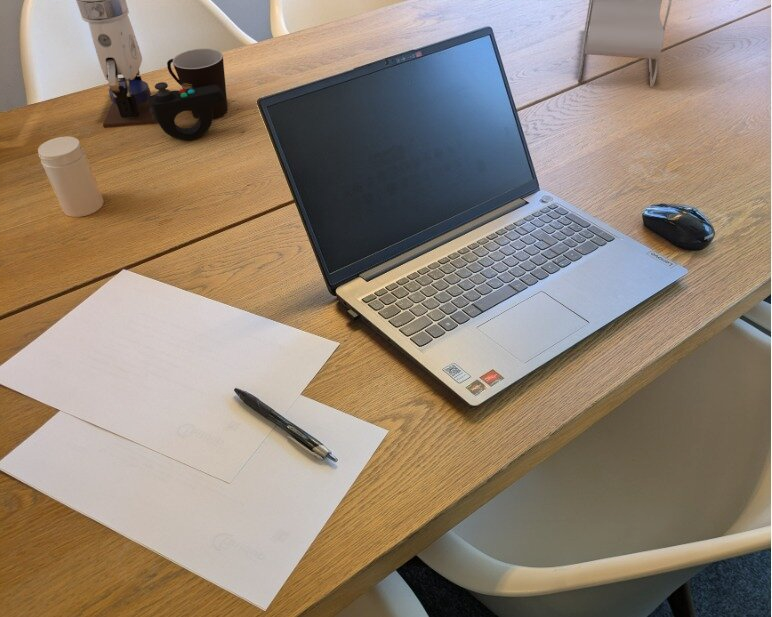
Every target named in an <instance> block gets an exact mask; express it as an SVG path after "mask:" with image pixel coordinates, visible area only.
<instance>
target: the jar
mask: <svg viewBox="0 0 772 617" xmlns="http://www.w3.org/2000/svg"><path fill="white" fill-rule="evenodd" d="M37 154H38V157H39V158H40V164H41V166H42V167H43V170H44V172H45V175H46V177H47V179H48V181H49V183H50V186H51V188H52V191H53V192H54V194H55V197H56V199H57V201H58V204H59V206H60V208H61V210H62V213H63V214H64V215H66V217H67V216H68V217H70V218H80V217H81V218H82V217H85V216H89V215H92V214H94V213H97V211H99V210H100V209H102V207H103V205H104V202H105V199H104V197H103V195H102V192H101V189H100V187H99V184H98V181H97V179H96V177H95V174H94V171H93V169H92V166H91V164H90V161H89V159H88V156H87V154H86V151H85V149H84V148H83V147H82V144H81V142H80V139H78V138H76V137H74V136H58V137H54V138H50V139H49V140H47V141H44V142H43V143H42V144H40V145H39V146H38V148H37Z"/></svg>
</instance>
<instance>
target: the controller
mask: <svg viewBox="0 0 772 617" xmlns="http://www.w3.org/2000/svg"><path fill="white" fill-rule="evenodd" d="M168 87H169V84H168V83H167V82H164V81H161V82H158V83H157V82H156V83H155V84H154V89H156V90H157V91H156V93H155V94H151V96H150V97H149V98H148V101H149V104H150V106H151V107H152V108H150V112H151V114H152V117H153V120H157V122H158V123H157V124H158V126H159V127H160V129H161V130H162V131H163V132H164V133H165V134H166V135H168V136H170V137H171V138H173V139H176V140H179V141H190V140H191V141H192V140H195V139H198V138H200V137H202V136H203V135H205V134H206V132H208V131H209V129H210V128H211V126H212V124H213V108H214V107H216V106H217V105H219V104H220V103H222V102H223V101H224V98H225V97H224V94H223V92H222V91H221V89H220V88H219V86H218V85H215V84H214V85H208V86H203V87H197V88H191V89H183V88H181V89H179V90H169V89H167V88H168ZM191 111H192V112H194V113H196V114H197V115H198V119H196V122H195V123H194V125H192V126H190V127H181V126H179V125H178V124H176V121H175V120H176V118H177V116H178V115H179V114H180V113H182V112H191ZM192 112H191V113H192Z"/></svg>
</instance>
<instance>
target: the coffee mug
mask: <svg viewBox="0 0 772 617" xmlns="http://www.w3.org/2000/svg"><path fill="white" fill-rule="evenodd" d="M166 65H167V67H166V68H167V70H168V73H169V74H170V75H171V77H172V78H173V79H174V80H175V82H176V83H177V84H178V85H179V86H181V89H191V88H197V87H203V86H208V85H214V84H215V85H218V86H219V88H220V89H221V91H222V92H223V94H224V97H225V98H224V101H223V102H222V103H220V104H219V105H217V106H216V107H214V108H213V120H214V121H215V120H218V119H220V118H223V117H224V116H225V115H227V113H228V112H229V109H228V96H227V86H226V74H225V63H224V54H223V52H221V51H220V50H218V49H215V48H194V49H190V50H185V51H183V52H180V53H179V54H177V55H176V56H174V58H170V59H169V60H167V62H166ZM172 65H173V67H174V70H175V72H176V74H175V73H174V71H173V70H172ZM227 111H228V112H227ZM190 113H191V114H192V117H193V118H194V119H196V120H198V115H197V114H196V113H194V112H192V111H190ZM219 117H220V118H219Z"/></svg>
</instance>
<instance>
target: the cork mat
mask: <svg viewBox="0 0 772 617" xmlns="http://www.w3.org/2000/svg"><path fill="white" fill-rule="evenodd" d="M137 107H138V111H139V116H138V117H128V118H122V117H121V115H120V112H119V109H118V106H117V105H116V104H114V103H113V102H112V101H111V104H110V107H109V109H108V112H107V114H106V116H105V118H104V121H103V123H102V126H103V128H113V127H126V126H127V127H128V126H138V125H150V124H151V125H152V124H158V122H157V120H153V117H152V114H151V112H150V108H152V107H151V106H150V104H149V101H148V100H147V101H146V102H143V103H141V104H138V105H137Z"/></svg>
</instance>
